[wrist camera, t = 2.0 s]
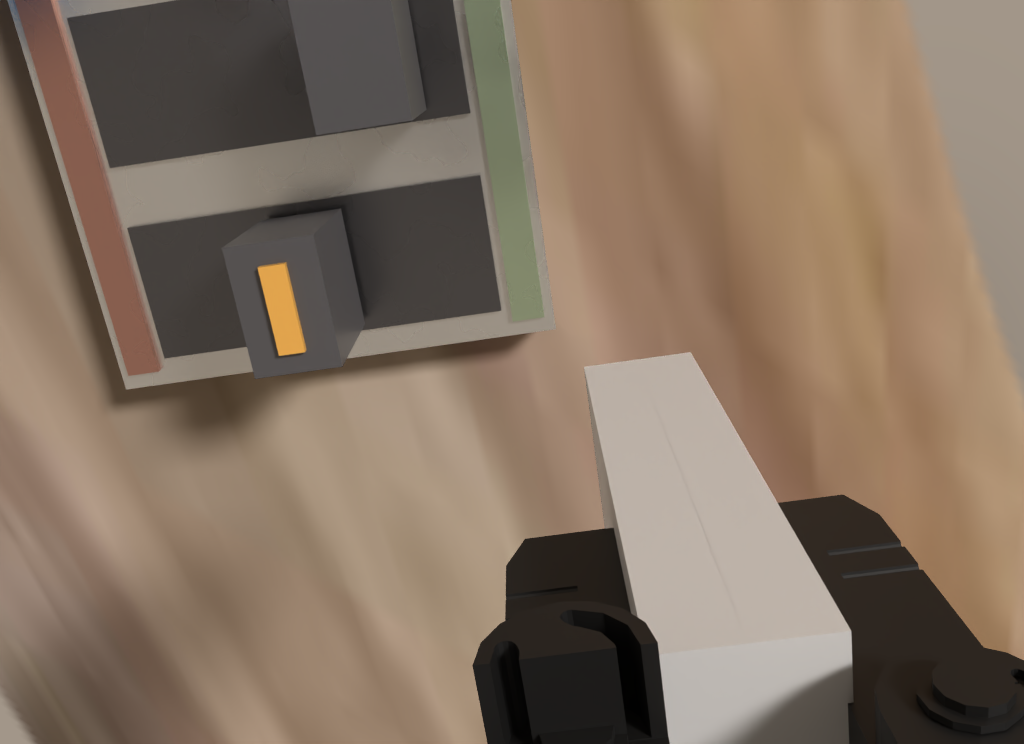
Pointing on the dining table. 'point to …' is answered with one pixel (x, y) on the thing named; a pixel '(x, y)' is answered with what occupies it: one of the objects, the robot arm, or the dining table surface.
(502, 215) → the panel
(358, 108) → the block
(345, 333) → the breaker
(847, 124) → the dining table surface
